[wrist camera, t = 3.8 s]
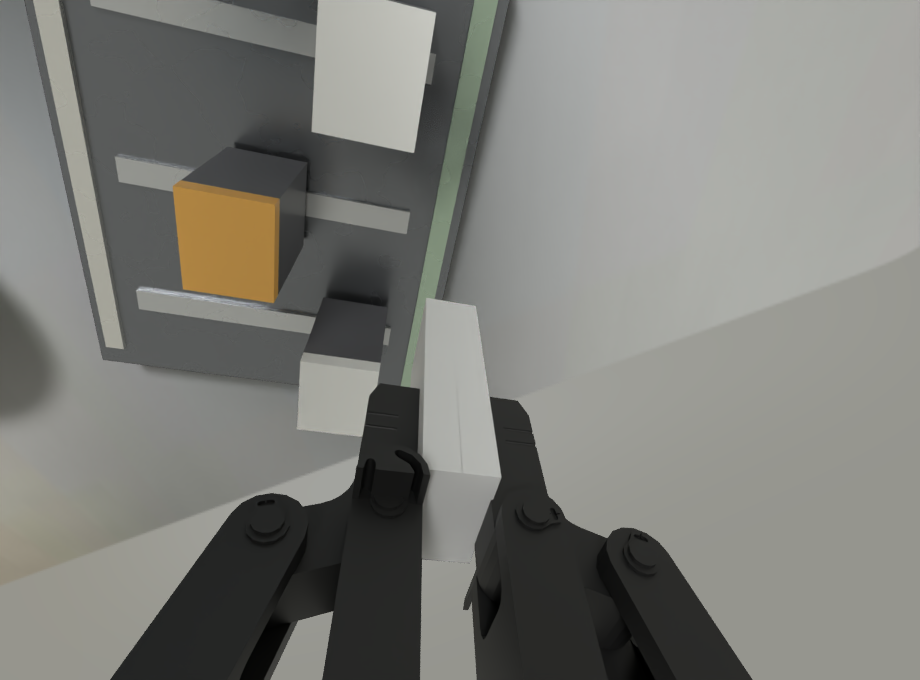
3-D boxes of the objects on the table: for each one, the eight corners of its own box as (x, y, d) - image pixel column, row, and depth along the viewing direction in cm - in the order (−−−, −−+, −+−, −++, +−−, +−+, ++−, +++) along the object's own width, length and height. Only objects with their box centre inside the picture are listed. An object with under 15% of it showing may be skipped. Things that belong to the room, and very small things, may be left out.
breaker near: (337, 103, 19) (311, 131, 14) (346, -13, 17) (318, -18, 13) (417, 120, 19) (413, 153, 15) (434, 10, 17) (436, 13, 13)
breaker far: (318, 359, 25) (296, 429, 21) (323, 297, 23) (300, 361, 19) (378, 367, 26) (368, 437, 21) (387, 307, 24) (379, 372, 20)
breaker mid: (231, 233, 21) (182, 289, 17) (227, 146, 19) (172, 185, 15) (303, 246, 22) (273, 303, 18) (307, 162, 20) (274, 204, 16)
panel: (123, 337, 27) (100, 362, 25) (27, -180, 16) (-26, -204, 14) (420, 378, 29) (419, 403, 27) (511, -44, 18) (520, -49, 17)
